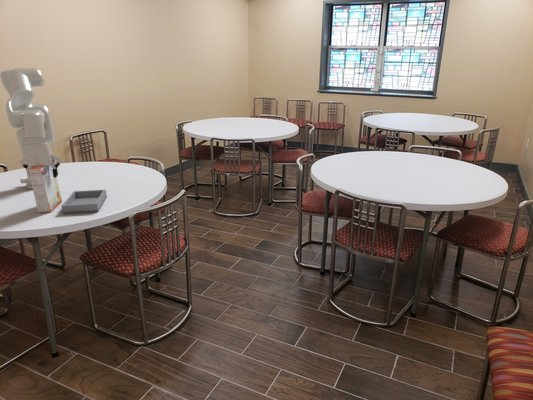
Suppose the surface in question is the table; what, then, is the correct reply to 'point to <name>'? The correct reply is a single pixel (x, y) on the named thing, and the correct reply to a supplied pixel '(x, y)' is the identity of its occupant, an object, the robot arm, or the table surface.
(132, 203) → the table surface
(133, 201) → the table surface
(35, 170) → the cracker box
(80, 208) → the tray
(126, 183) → the table surface
